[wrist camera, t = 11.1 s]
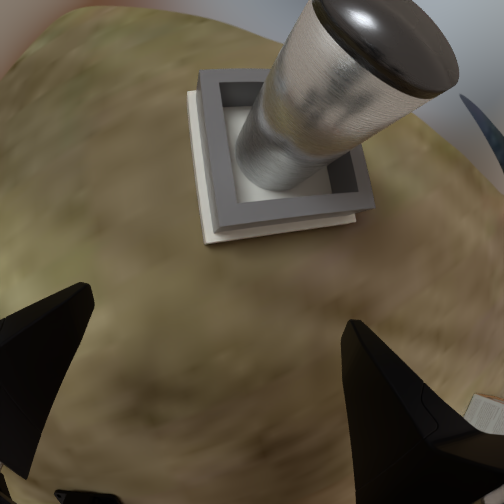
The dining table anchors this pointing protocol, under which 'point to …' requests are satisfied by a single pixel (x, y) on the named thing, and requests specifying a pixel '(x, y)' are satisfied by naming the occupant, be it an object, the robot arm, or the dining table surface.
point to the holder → (244, 191)
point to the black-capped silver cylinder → (341, 86)
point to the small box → (486, 414)
